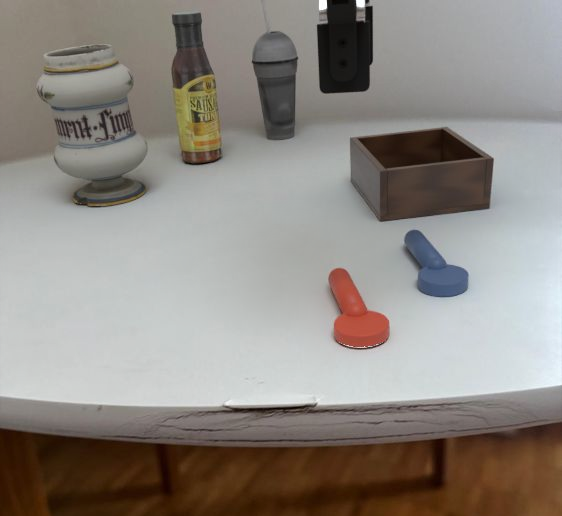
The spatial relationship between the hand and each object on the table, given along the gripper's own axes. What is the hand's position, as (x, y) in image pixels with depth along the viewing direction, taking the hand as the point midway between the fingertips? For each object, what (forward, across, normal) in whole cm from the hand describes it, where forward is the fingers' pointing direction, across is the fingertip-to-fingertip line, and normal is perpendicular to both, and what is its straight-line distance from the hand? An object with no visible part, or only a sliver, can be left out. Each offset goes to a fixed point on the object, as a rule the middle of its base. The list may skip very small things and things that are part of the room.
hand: (348, 78), depth 49 cm
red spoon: (+19, 0, 0) cm, 19 cm away
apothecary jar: (+19, +35, +34) cm, 53 cm away
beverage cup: (+19, +63, +15) cm, 68 cm away
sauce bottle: (+19, +51, +25) cm, 60 cm away
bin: (+19, +32, -6) cm, 37 cm away
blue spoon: (+19, +9, -7) cm, 22 cm away
